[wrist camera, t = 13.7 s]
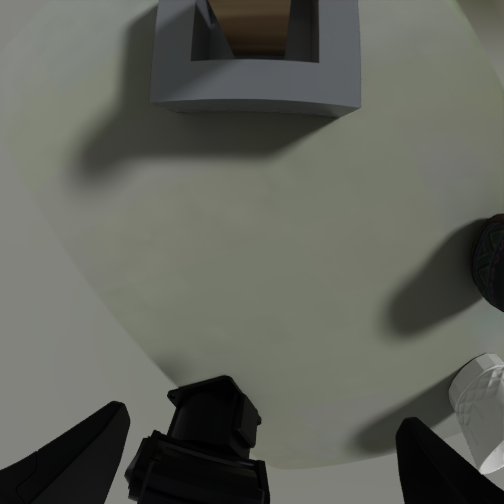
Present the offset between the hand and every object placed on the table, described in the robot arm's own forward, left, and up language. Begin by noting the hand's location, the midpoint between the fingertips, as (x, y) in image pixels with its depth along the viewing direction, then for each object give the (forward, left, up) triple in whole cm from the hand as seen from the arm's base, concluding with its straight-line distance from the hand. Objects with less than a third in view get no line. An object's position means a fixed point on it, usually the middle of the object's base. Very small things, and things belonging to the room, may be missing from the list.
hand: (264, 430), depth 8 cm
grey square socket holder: (+6, +14, -13) cm, 20 cm away
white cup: (+14, -20, -13) cm, 28 cm away
